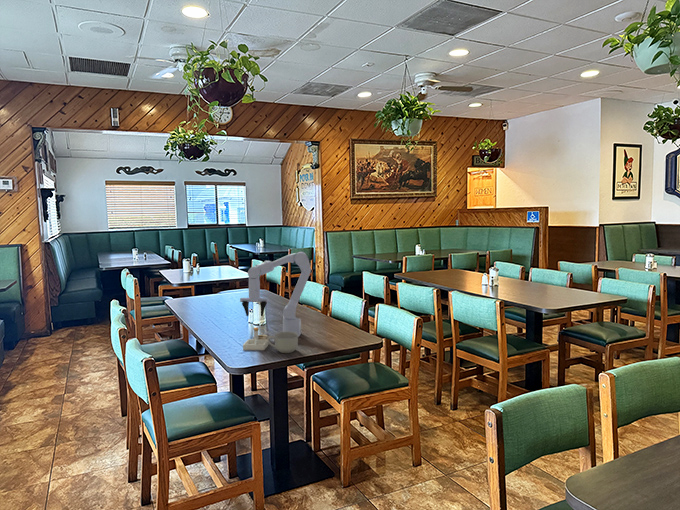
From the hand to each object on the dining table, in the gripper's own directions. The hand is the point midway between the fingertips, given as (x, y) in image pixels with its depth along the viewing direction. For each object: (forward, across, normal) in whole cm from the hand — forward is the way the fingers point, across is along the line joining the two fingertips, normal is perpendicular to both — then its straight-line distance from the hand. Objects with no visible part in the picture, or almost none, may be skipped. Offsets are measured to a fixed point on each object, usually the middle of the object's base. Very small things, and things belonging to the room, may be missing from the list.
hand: (254, 315), depth 243 cm
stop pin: (+10, -6, +22) cm, 25 cm away
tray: (+10, -6, +22) cm, 25 cm away
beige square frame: (+10, -6, +14) cm, 18 cm away
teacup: (+11, -20, +28) cm, 36 cm away
